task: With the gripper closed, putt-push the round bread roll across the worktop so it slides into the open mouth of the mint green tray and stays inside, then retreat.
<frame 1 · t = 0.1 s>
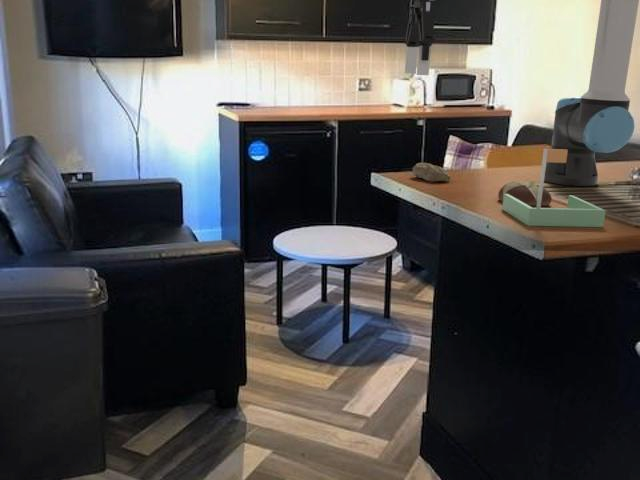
hand: (416, 74, 167), 28 cm above the worktop, fingers open, 13 cm apart
mint green tray: (550, 217, 145), on the worktop
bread: (523, 204, 160), on the worktop
rock: (431, 180, 186), on the worktop
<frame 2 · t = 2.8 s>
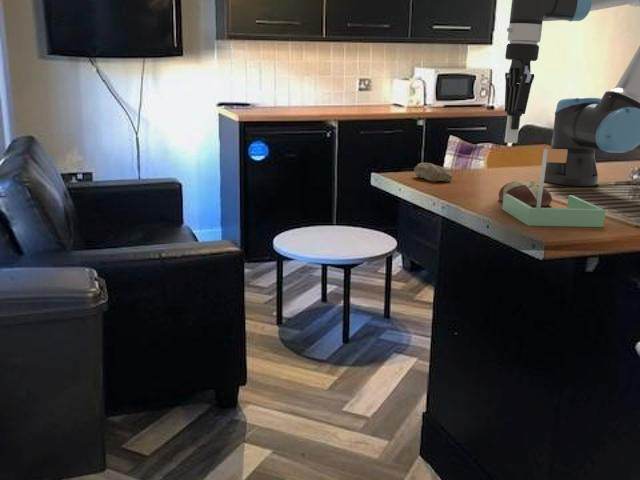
hand: (510, 142, 168), 13 cm above the worktop, fingers closed
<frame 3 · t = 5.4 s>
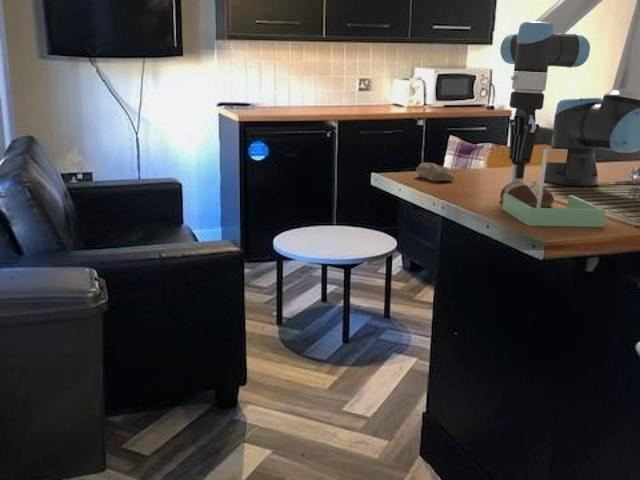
hand: (515, 190, 164), 2 cm above the worktop, fingers closed
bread: (525, 205, 159), on the worktop
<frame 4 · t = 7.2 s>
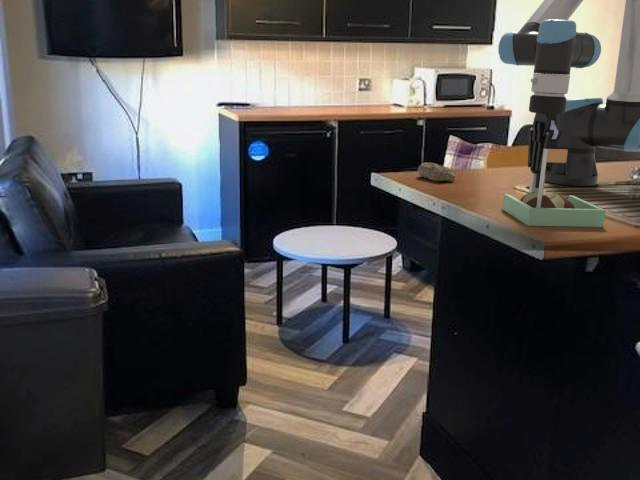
hand: (534, 201, 153), 2 cm above the worktop, fingers closed
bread: (545, 216, 148), resting in mint green tray, touching gripper
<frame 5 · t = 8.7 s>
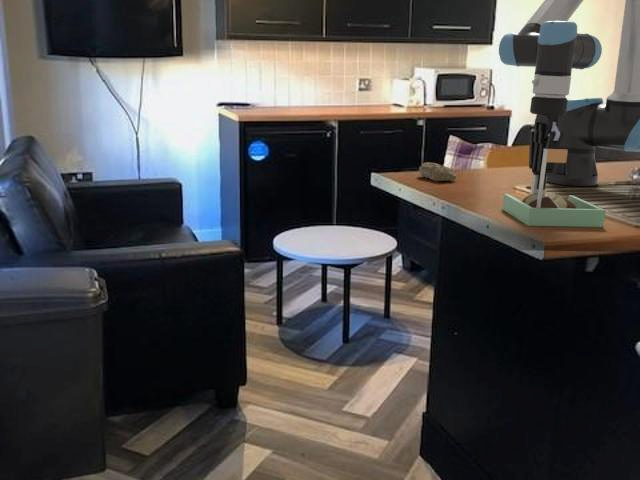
hand: (536, 202, 153), 1 cm above the worktop, fingers closed
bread: (547, 218, 147), resting in mint green tray
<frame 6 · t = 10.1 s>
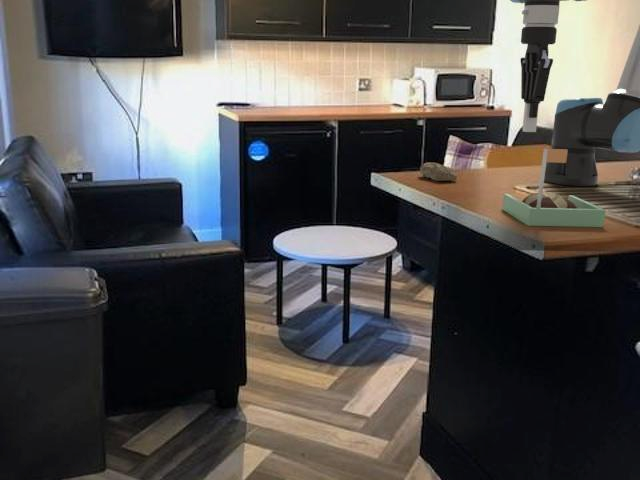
hand: (529, 131, 159), 16 cm above the worktop, fingers closed
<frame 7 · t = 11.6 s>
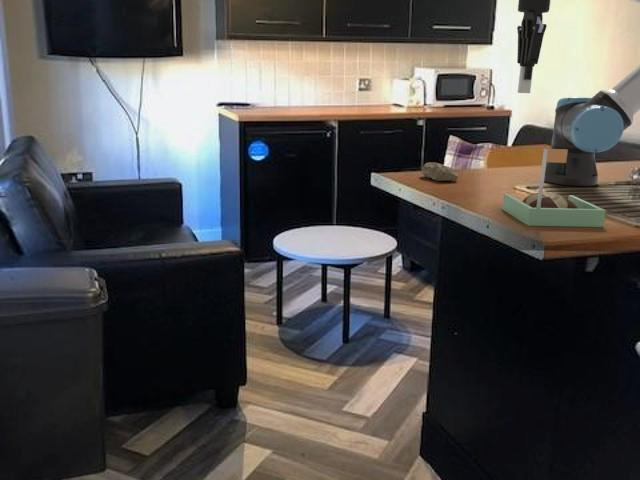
hand: (523, 92, 174), 24 cm above the worktop, fingers closed
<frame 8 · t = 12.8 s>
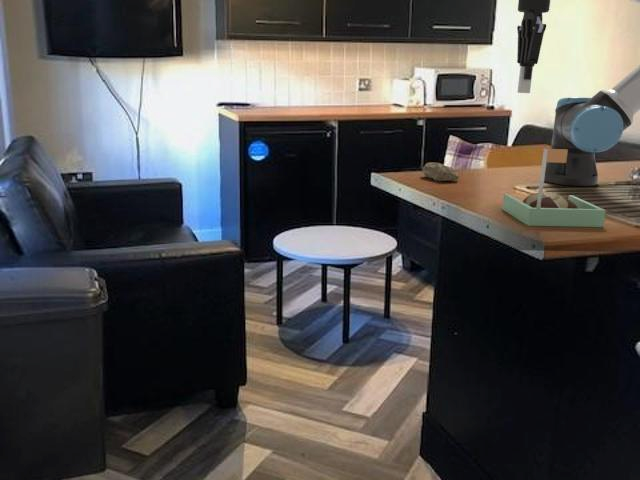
hand: (523, 92, 174), 24 cm above the worktop, fingers closed
at the end: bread inside the target area on the mint green tray (0.9 cm from its centre), point -0.5 cm above the mint green tray's base; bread moved 13.6 cm from its start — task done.
